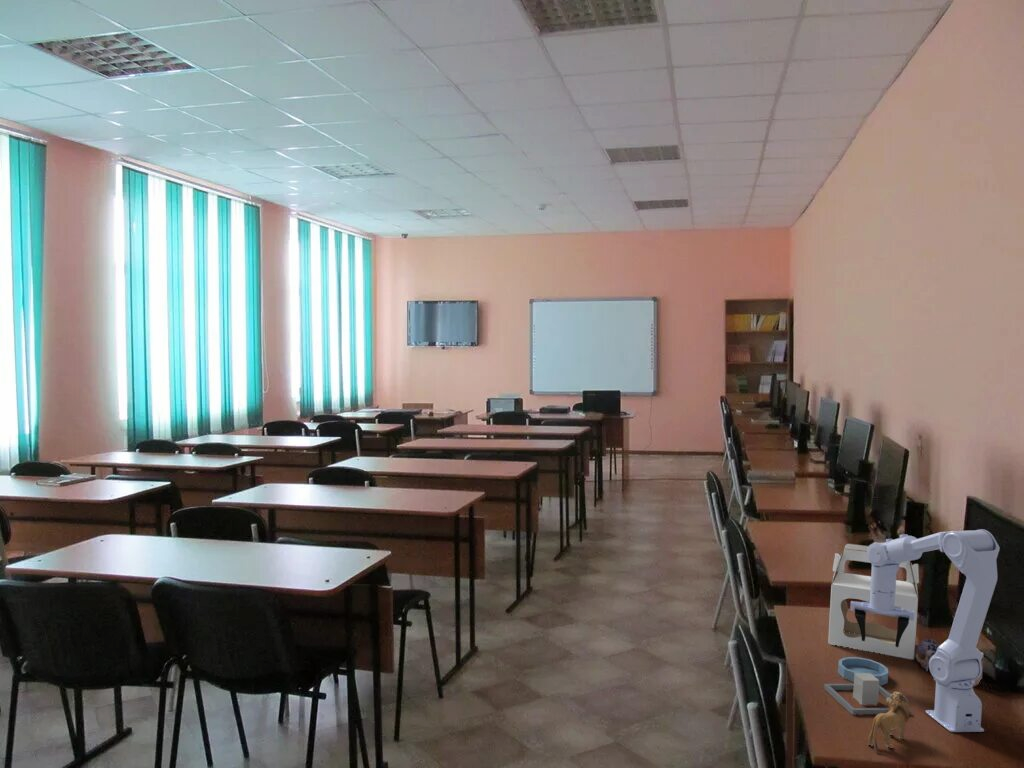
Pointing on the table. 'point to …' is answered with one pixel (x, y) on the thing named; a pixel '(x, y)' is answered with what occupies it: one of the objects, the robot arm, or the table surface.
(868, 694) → the stone block
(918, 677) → the table surface
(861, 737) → the table surface
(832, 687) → the tray
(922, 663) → the skull
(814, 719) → the table surface
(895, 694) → the lion figurine
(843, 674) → the bowl
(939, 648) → the robot arm
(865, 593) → the gable box
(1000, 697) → the table surface
